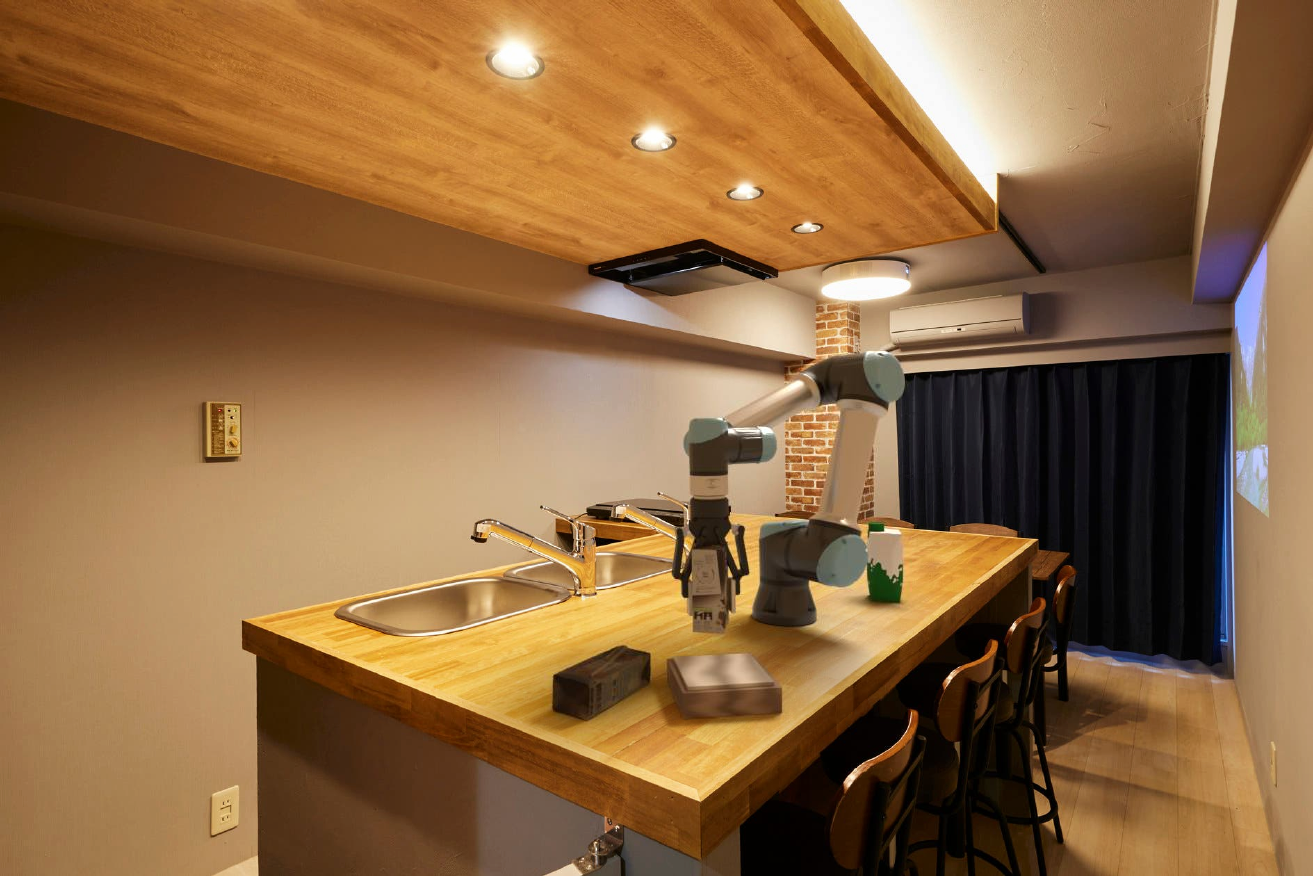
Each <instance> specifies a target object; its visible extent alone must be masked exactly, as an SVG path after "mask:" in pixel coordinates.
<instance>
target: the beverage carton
mask: <svg viewBox="0 0 1313 876" xmlns="http://www.w3.org/2000/svg"><path fill="white" fill-rule="evenodd" d="M651 656H652V654H651V653H650V652H649V651H648V652H647V651H644V650H641V649H640V650H639V649H636V648H631V647H628V646H627V645H624V644H622V645H616V646H615V647H612V648H610V649H609V650H605V651H602V652H601V653H598V654H596V655H594V656H592V657H588V658H587V659H585V660H582V661H580V662H578V663H576V664H573V665H572V666H569V667H566V668H565V669H562V670H560V671H558V672H557V673H554V674H553V675H552V700H551V701H552V703H551V704H552V707H551V710H553V711H554V712H558V713H560V714H561V713H562V714H564V715H567V716H570V717H573V718H576V719H581V720H583V721H590V719H593V718H594V717H596V716H597V715H599V714H601V713H602V712H605V711H606V710H607V709H610V708H611V707H613V706H615V705H616V704H618V703H620V702H621V701H623V700H625V699H626V698H628V697H630V696H632V695H633V694H635V693H637V692H638V691H639V690H641V689H643V688H644V687H646V686H647V685H649V684H651V683H650V682H651V676H652V675H651V673H652V672H651V671H652V670H651V669H652V667H651V666H652V665H651V661H652V660H651V659H652V658H651Z"/></svg>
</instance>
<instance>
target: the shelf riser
mask: <svg viewBox="0 0 1313 876" xmlns="http://www.w3.org/2000/svg"><path fill="white" fill-rule="evenodd" d="M666 682H667V684H668V687H669V690H670V691H671V694H672V696H673V699H674V702H675V703H676V706H677V708H678V711H679V713H680V716H681V718H682V720H687V719H690V720H691V719H704V718H719V717H735V716H750V715H764V714H765V715H766V714H782V713H783V687H782V686H781V684H779V682H778V680H776V678H775V677H774V676H773V675H772V674H771V673H770V671H769V670H768V669H767V668H766V667H765V666H764V665H763V663H762V662H761V661H760V660H759V659H758V657H756V655H755V654H753V653H752V654H751V653H749V652H747V653H745V652H744V653H724V654H722V653H721V654H706V655H690V656H689V655H687V656H673V657H672V658H666Z"/></svg>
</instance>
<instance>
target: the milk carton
mask: <svg viewBox="0 0 1313 876" xmlns="http://www.w3.org/2000/svg"><path fill="white" fill-rule="evenodd" d="M867 527H868V529H867V539H866V545H867V549H866V550H867V551H868V562H867V566H866V582H867V588H868V594H869V597H870V600H871V602H884V603H885V602H886V603H901V598H902V593H903V584H904V546H903V545H904V544H903V534H902V533H901V531H900V530H899V529H889V528H885V523H884V522H880V521H869V522H868V526H867Z"/></svg>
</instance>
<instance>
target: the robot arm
mask: <svg viewBox="0 0 1313 876" xmlns="http://www.w3.org/2000/svg"><path fill="white" fill-rule="evenodd" d="M905 383H906V380H905V374H904V370H903V368H902V365H901V363H900V361H899V360H898V358H897V357H896V356H895V355H894V354H892V353H891V352H888V351H884V350H879V351H875V350H869V351H866V352H858V353H850V354H842V355H840V354H839V355H833V356H830V357H827V358H825V359H823V360H820V361H818V362H816V363H815V364H813V365H810V366H808V367H807V368H804V369H803V370H801V371H799V372H798V373H795V374H794V375H792V377H790V379H789V382H787V383H785V384H784V385H782V386H780V387H778V388H777V389H774V390H772V391H770V392H769V393H767V394H765V395H763V396H761V397H759V398H757V399H755V400H754V401H751V402H750V403H747V404H746V405H744V406H742V407H740V408H739V409H737V410H735V411H733V412H731V413H729V414H727V415H725V416H724V417H695V418H692V419H691V420H690V421H689V424H688V430H687V432H686V433H685V435H684V436H683V441H682V442H683V443H682V444H683V445H682V446H683V450H684V452H685V454H686V455H687V456H688V461H689V462H688V463H689V495H690V496H692V497H691V498H690V499H689V517H690V518H689V519H690V520H689V522H688V523H687V524H688V525H684V526H675V527H674V533H675V538H676V539H675V544H674V553H673V560H672V566H671V567H672V568H671V576H672V577H673V579H675V580H677V581H678V580H679V581H680V588H681V589H680V593H681V596H682V598H683V599H686V613H687V614H688V617H693V614H692V579H691V576H692V548H693V547H695V548H701V547H702V546H703V545H709V544H714V545H719V544H720V545H721V546H726V558H727V564H728V570H729V572H730V574H731V576H728V599H729V613H731V614H736V613H737V608H736V607H737V603H736V596H739V595H741V580H742V578H743V577H747V576H749V575H750V573H751V572H750V566H749V562H748V561H749V560H748V557H747V556H748V554H747V551H746V550H747V549H746V544H745V532H746V531H745V530H746V527H745V526H744V525H743V524H740V523H737V524H736V523H735V524H734V523H731V521H730V511H729V505H730V504H729V501H730V500H729V498H728V497H727V496H728V495H729V466H730V465H731V466H733V465H745V464H746V465H747V464H748V465H749V464H756V465H757V464H758V465H759V464H760V463H768V462H770V461H771V460H772V459H773V458H774V456H775V455H776V453H777V450H778V446H777V445H778V444H777V442H778V440H777V437H776V435H775V433H774V431H773V430H772V429H773V428H775V427H776V426H779V425H780V424H782V423H784V422H786V421H788V420H789V419H791V418H792V417H794V416H797V415H798V414H800V413H802V412H804V411H813V410H816V409H817V408H819V407H822V406H826V405H828V406H829V405H835V406H836V407H837V409H838V411H839V412H840V413H839V418H838V422H837V426H836V431H835V436H834V439H833V440H834V441H833V445H832V449H831V453H830V458H829V462H828V467H827V470H826V474H825V475H826V476H825V480H824V484H823V488H822V491H821V492H822V493H821V498H820V502H819V506H818V510H817V512H816V513H815V514H813V515H812V516H811V517H809V518H808V520H807V519H793V520H792V519H791V520H789V519H788V520H780V521H779V520H777V521H768V522H764V523H763V524H762V525H761V526H760V529H759V537H758V547H759V548H758V558H759V559H758V561H759V564H758V565H759V583H758V584H759V585H758V588H757V591H756V594H755V597H754V601H753V604H752V608H751V610H752V612H751V613H752V618H753V619H754V620H756V621H758V622H761V623H764V624H769V625H774V626H783V627H784V626H787V627H790V626H791V627H792V626H793V627H795V626H796V627H797V626H804V625H810V624H812V623H814V622H816V621H817V619H818V617H817V616H818V614H817V613H818V609H817V606H816V603H815V600H814V598H813V597H814V596H813V593H812V591H811V588H810V582H814V583H817V584H821V585H823V586H826V587H835V588H847V587H850V586H852V585H854V583H856V582H857V581H858V580H860V578H861V577H862V576H863V574H864V573H865V570H866V569H867V562H868V551H867V542H866V541H865V540H864V539H862V532H863V530H862V528H861V527H860V525H859V523H858V518H859V512H860V508H861V504H862V503H861V502H862V498H863V495H864V489H865V485H866V481H867V480H866V479H867V475H868V471H869V467H870V462H871V457H872V452H873V448H874V443H875V438H876V434H877V429H878V425H879V421H880V419H882V418H884V417H886V416H887V414H888V412H889V408H890V407H889V406H890V403H894V402H896V401H898V400H899V399H900V398H901V397H902V396H903V393H904V390H905V387H906V385H905ZM730 531H731V533H732V535H733V536H734V541H735V542H734V543H735V547H736V552H737V559H738V562H739V563H738V564H739V568H738V565H737V563H736V562H735V559H734V557H733V555H732V552H731V550H730V548H729V545H728V544H729V543H728V544H727V542H728V541H727V539H726V537H727V536H728V534H729V533H730ZM689 532H690V533H691V535H692V536H693V537H694V539H693V542H692V545H691V547H690V550H689V553H688V556H687V558H686V561H685V564H684V566H683V569H681V568H682V563H683V556H684V555H683V554H684V548H685V538H687V537H688V533H689ZM681 570H682V571H681Z"/></svg>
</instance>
